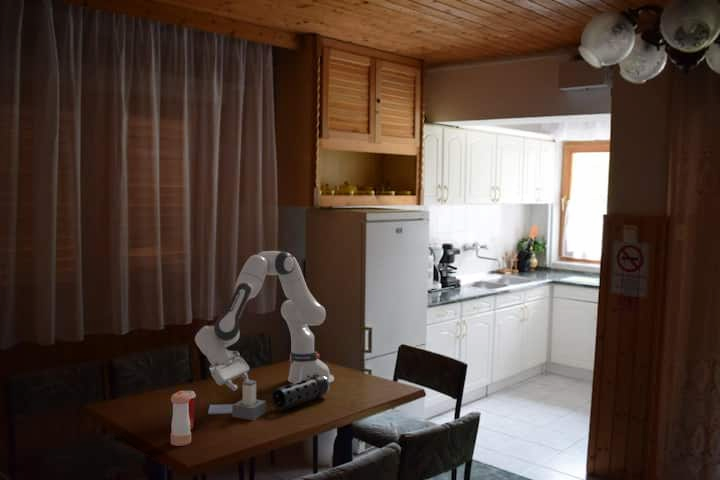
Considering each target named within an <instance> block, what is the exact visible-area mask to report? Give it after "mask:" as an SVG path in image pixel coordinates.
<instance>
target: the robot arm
mask: <svg viewBox="0 0 720 480" xmlns="http://www.w3.org/2000/svg"><path fill="white" fill-rule="evenodd" d="M267 275H268V276H278V279H279V281H280V284H281V287H282V290H283V293H284V295H285V297H286V298H287V300H285V301H284V302H283V303H282V305H281V307H280V313H281V314H280V315H281V317H282V318H283V319H284V320H285V321H286V323H287V327H288V329H289V333H290V338H291V339H290V341H291V344H290V345H291V350H290V353H289V354H290V355H289V363H290V367H289V374H288V378H287V381H288V382H290V384H293V383H296V382H299V381H302V380H305V379H309V378H310V377H313V376H316V375H323V376H325V377H326V378H327V379H328V381H329V384H332V382H333V381H334V382H335V377H334V375H333V374H332V373H330V369H329V366H328V365H327V364H326V363H324V362H323V361H322V360H320V359H319V358H320V354H319V352H317V351H315V335H314V333H313V332H312V330H311V329H310V328H309V326H320V325H321V324H323V323H324V321H325V320H326V315H327V314H326V309H325V307H324V306H323V305H321V304H320V302H318V301H317V300H316V298H315V297H314V296H313V294H312V293H311V292H310V289H309V288H308V286H307V283H306V281H305V277H304V274H303V272H302V268H301V267H300V264H299V262H298V261H297V259H296V257H294V256H293V255H292V254H291V253H289V252H286V251H280V250H268V251H267V250H266V251H264V250H261V251H257V252H255V253H254V254H253V255H251V256H250V257H248V259H247V260H246V261H245V263H244V265H243V267H242V269H241V271H240V273H239V275H238V277H237V280H236V283H235V286H234V291H233V294H232V298H231V300H230V301H229V303H228V305H227V307H226V310H225V311H224V312H223V314H221V316H220V317H218V318H217V319H216V321H215V322H214V325H204V326H202V327H201V328H200V329H199V330H198V331H197V333H196V334H195V337H194V342H195V344H196V345H197V347H198V348H199V350H200V352H201V353H202V354H203V355H205V356H206V357H207V358H206V359H207V360H208V362H209V363H210V364H211V365H210V366H209V371H210V374H211V376H212V378H213V379H214V381H215V382H216V384H217V385H218V386H220V387H221V386H224V385H226V386H227V387H228V388H230V389H231V390H232V391H233V392H235V391H237V390H238V389H239V386H237V384H234V383H233V381H235V380H236V379H238V378H242V379H243V380H244V381H246V380H250V379H249V376H248V372H249V371H250V365H249V364H248V363H247V362H246V361H245V359H244V358H243V357H242V356H241V355H240V352H239V351H238V350H228V348H229V347H230V346H232V345H234V344H235V343H237V342H238V341H239V338H240V336H241V335H240V318H241V316H242V314H243V313H242V312H243V310H244V308H245V307H246V304H247V302H248V301H249V300H250V299H253V298H255V297H257V295H258V294H259V292H260V291H261V289H262V287H263V284H264V282H265V279H266V276H267ZM244 381H243V382H244Z"/></svg>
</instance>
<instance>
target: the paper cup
mask: <svg viewBox="0 0 720 480" xmlns="http://www.w3.org/2000/svg"><path fill="white" fill-rule="evenodd" d="M182 391H183V392H185V393H188V394H189V395H190V397H191V399H190V401H189V402H188V411H189V419H190V431H191V430H194V429H193V428H194V421H195V405H196V404H195V402H196V396H197V395H196V393H195V391H193V390H182Z"/></svg>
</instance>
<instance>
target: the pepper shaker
mask: <svg viewBox="0 0 720 480" xmlns="http://www.w3.org/2000/svg"><path fill="white" fill-rule="evenodd" d="M183 391H184V390H179V391H178V392H175V393H173V394H172V395H171V397H170V401H171V403H172V419H171V424H170V425H171V432H170V444H171V445H172V446H176V447H177V446H179V447H181V446H186V445H189V444H190V443H191V442H192V432H191V430H190V419H189V411H188V402H189V401H190V399H191V397H190V395H189V394H188V393H185V392H183Z"/></svg>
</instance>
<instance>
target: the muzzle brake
mask: <svg viewBox="0 0 720 480" xmlns="http://www.w3.org/2000/svg"><path fill="white" fill-rule="evenodd" d="M330 385H331V383H329V381H328V379H327V378H326V377H325V376H323V375H316V376H313V377H310V378H309V379H305V380H302V381H299V382H296V383H289V384H287V385H284V386H281V387H278V388H275V389H273V390H272V392H271V396H270V400H271V404H272V405H273V407H274V408H275V409H277V411H278V412H283V411H286V410H289V409H291V408H294V407H296V406H300V405H301V404H303V403H305V402H312V401H315V399H317V398H321V397H324V396H326V395H327V393H328V392H329V391H330Z"/></svg>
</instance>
